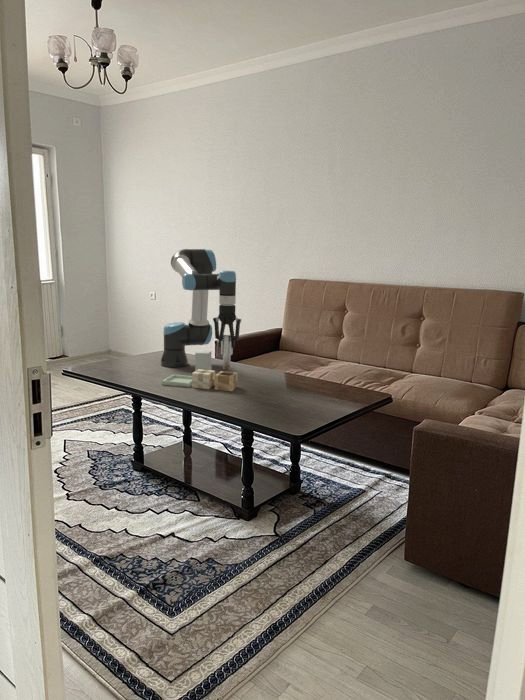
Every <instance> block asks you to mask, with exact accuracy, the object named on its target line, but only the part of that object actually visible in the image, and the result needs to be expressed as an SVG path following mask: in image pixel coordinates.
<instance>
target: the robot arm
mask: <svg viewBox="0 0 525 700" xmlns="http://www.w3.org/2000/svg"><path fill="white" fill-rule="evenodd" d="M170 266H171V267H172V269H173V271H175V272H176V273H177V274H179V275H180V277H181V284H182V289H183V290H185V291H192V298H191V299H192V301H191V302H192V303H191V304H192V305H191V318H190V319H189V320H188V324H185V322H183V321H177V322H171V323H167V324H165V325H164V326H163V332H162V333H163V353H162V356H161V359H160V366H162V367H167V368H181V367H182V368H183V367H185V366H188V365H189V359H188V356H187V353H186V348H185V347H187V346H205V345H206V346H207V345H208V344H210V343H211V341H212V338H213V326H212V324H210V321H209V320H208V307H209V305H208V304H209V291H219V293H218V294H219V297H218V303H219V307H218V316H217V317H214V318H213V317H212V320H213V323H214V337H215V339H216V340H218V346H219V348H220V355H223V335H225V330H226V325H228V329H229V335H230V336H231V341H230V345H229V355H230V356H233V353H234V352H233V350H234V348H235V346H236V343H235V342H236V341H238V340H239V338H240V329H241V327H240V326H241V323H242V319H241V318H239V317H237V316H236V297H237V295H236V291H237V290H236V289H237V288H236V287H237V286H236V285H237V275H236V274H237V273H236V272H235V270H221V271H219V273H213V272H216V270H217V260H216V256H215V253H214V251H213V250H211V249H206V248H203V249H201V248H200V249H198V248H193V249H190V248H185V249H183V248H182V249H180V250H178V251H176V252H175V253H174V254H173V255H172V256H171V260H170ZM219 322H221V323H219ZM234 322H235V328H234ZM219 324H220V326H219ZM219 327H220V328H219ZM234 329H235V330H234Z"/></svg>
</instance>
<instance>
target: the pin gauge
mask: <svg viewBox="0 0 525 700" xmlns="http://www.w3.org/2000/svg"><path fill="white" fill-rule="evenodd" d="M230 341H231V336H230V334H224V335H223V354H222V369H223V370H225V371H226V370H231V355H229V345H230Z"/></svg>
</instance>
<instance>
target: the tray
mask: <svg viewBox="0 0 525 700" xmlns="http://www.w3.org/2000/svg"><path fill="white" fill-rule="evenodd" d="M161 386H170V387H171V386H172V387H181V388H189V387H192V375H182V374H171V375H170V376H168V377H165V379H162V380H161Z"/></svg>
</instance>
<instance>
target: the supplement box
mask: <svg viewBox="0 0 525 700" xmlns="http://www.w3.org/2000/svg"><path fill="white" fill-rule="evenodd" d="M194 358H195V359H194V360H195V361H194V362H195V364H194V365H195V367H194V369H195V370H194V372H195V371H196V370H198V369H202V370H212V350H203V349H200V350H199V349H198V350H196V352H195V353H194Z"/></svg>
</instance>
